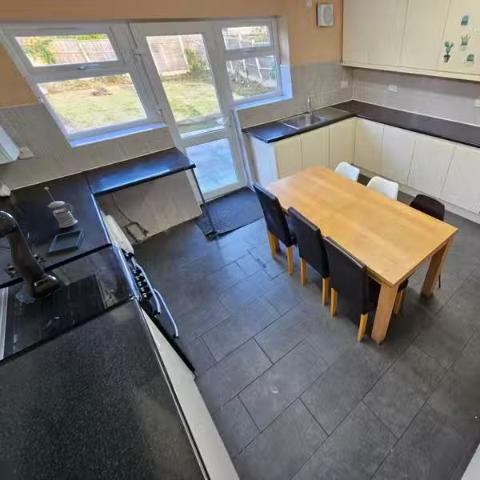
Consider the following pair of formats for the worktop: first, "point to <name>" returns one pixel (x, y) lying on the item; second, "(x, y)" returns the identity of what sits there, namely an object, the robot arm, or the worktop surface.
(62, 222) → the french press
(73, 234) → the tray
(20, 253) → the robot arm
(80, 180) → the worktop surface
